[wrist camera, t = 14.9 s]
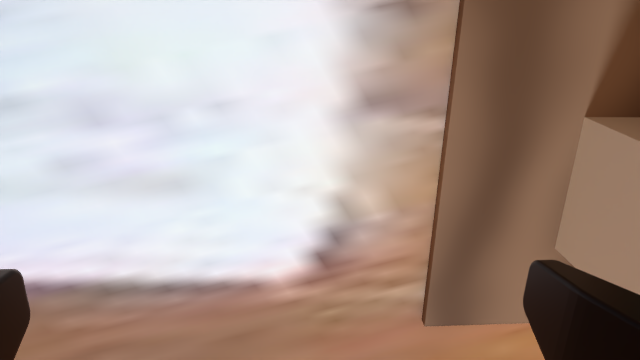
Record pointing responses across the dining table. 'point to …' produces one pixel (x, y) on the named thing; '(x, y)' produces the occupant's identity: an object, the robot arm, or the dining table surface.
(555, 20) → the board
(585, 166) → the cream matte box
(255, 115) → the dining table surface
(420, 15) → the dining table surface
